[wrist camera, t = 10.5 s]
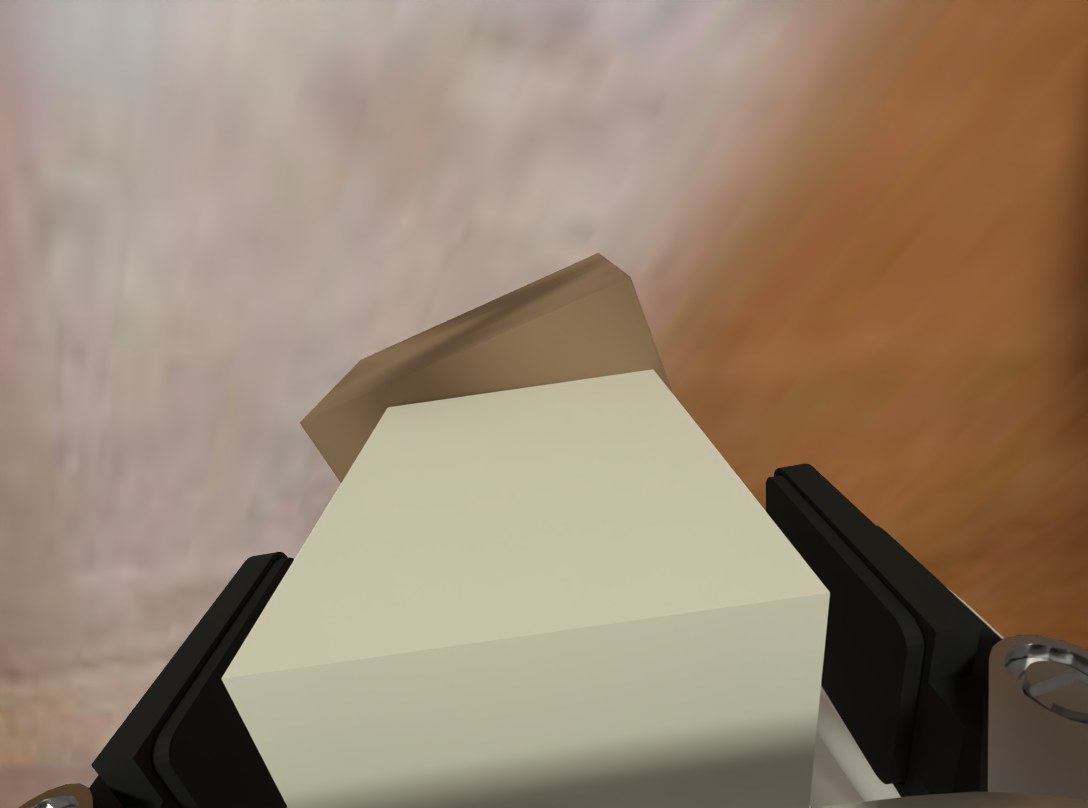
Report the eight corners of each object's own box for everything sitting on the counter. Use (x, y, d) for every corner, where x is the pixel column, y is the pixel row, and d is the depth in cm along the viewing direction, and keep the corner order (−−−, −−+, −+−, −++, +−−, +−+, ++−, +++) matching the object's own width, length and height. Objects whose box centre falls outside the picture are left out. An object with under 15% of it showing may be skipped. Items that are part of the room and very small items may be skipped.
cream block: (653, 369, 11) (829, 592, 5) (665, 580, 14) (797, 923, 7) (387, 407, 12) (222, 677, 5) (443, 612, 14) (378, 981, 7)
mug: (811, 466, 18) (1161, 794, 8) (992, 624, 21) (1400, 997, 11) (643, 615, 20) (757, 1012, 11) (829, 738, 24) (1051, 1129, 14)
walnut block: (597, 252, 15) (630, 276, 11) (679, 466, 18) (732, 558, 14) (362, 357, 16) (299, 422, 12) (475, 545, 19) (461, 657, 15)
